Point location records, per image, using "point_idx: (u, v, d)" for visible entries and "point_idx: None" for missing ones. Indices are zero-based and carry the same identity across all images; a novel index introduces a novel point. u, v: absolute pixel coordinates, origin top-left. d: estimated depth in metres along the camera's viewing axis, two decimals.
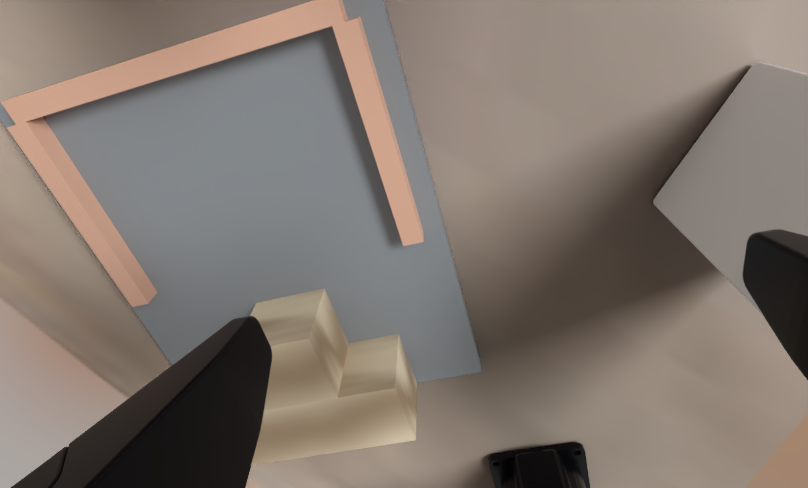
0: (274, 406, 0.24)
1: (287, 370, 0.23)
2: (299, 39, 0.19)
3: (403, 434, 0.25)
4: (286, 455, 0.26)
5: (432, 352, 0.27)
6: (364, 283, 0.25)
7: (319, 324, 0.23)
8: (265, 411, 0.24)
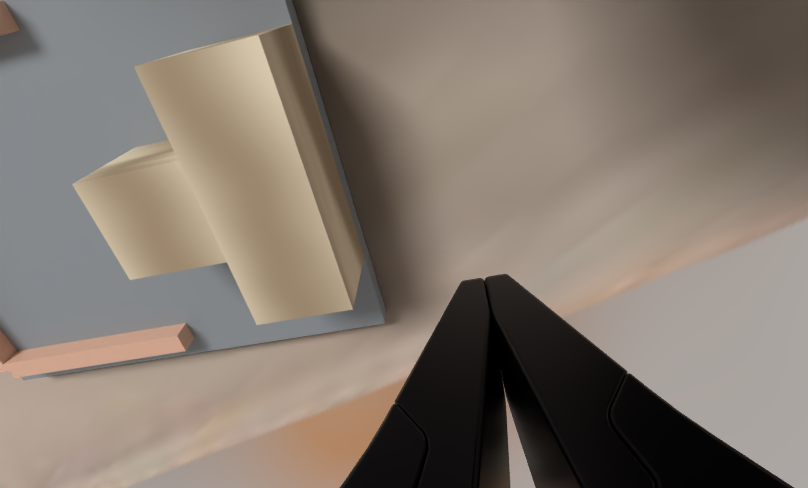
0: (216, 249, 0.17)
1: (140, 219, 0.17)
2: None
3: (246, 58, 0.14)
4: (322, 252, 0.17)
5: None
6: (112, 93, 0.18)
7: (112, 164, 0.17)
8: (227, 262, 0.17)
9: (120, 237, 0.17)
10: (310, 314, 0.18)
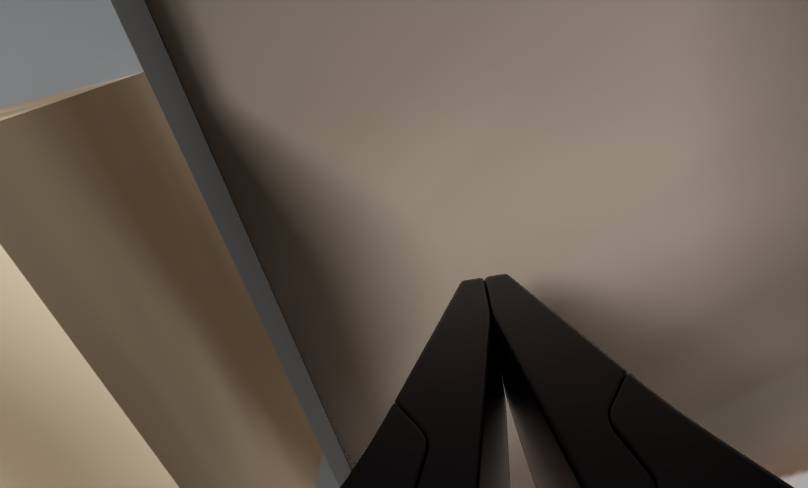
0: None
1: None
2: None
3: None
4: None
5: None
6: None
7: None
8: None
9: None
10: None
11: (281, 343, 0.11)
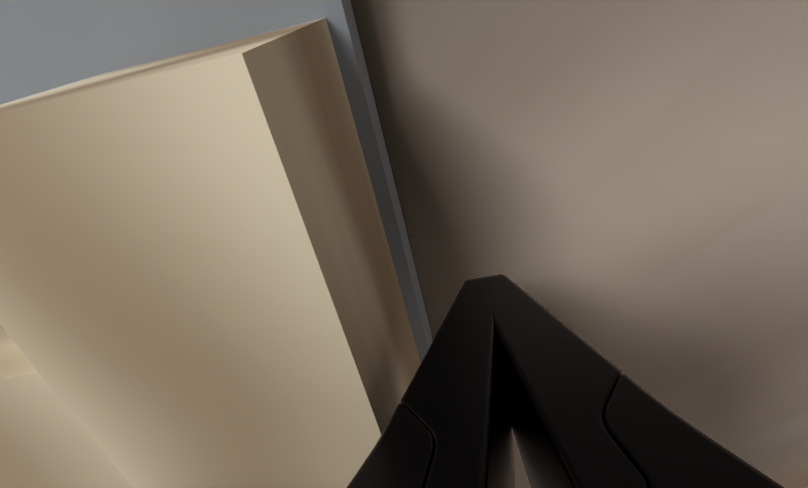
0: None
1: None
2: None
3: (203, 127, 0.04)
4: None
5: None
6: None
7: None
8: None
9: None
10: None
11: (423, 317, 0.11)
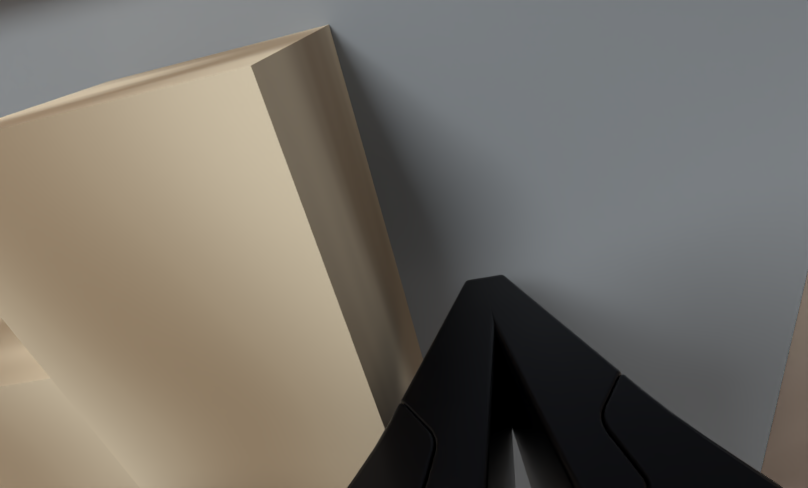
0: None
1: None
2: None
3: (213, 137, 0.04)
4: None
5: None
6: (366, 64, 0.08)
7: None
8: None
9: None
10: None
11: None
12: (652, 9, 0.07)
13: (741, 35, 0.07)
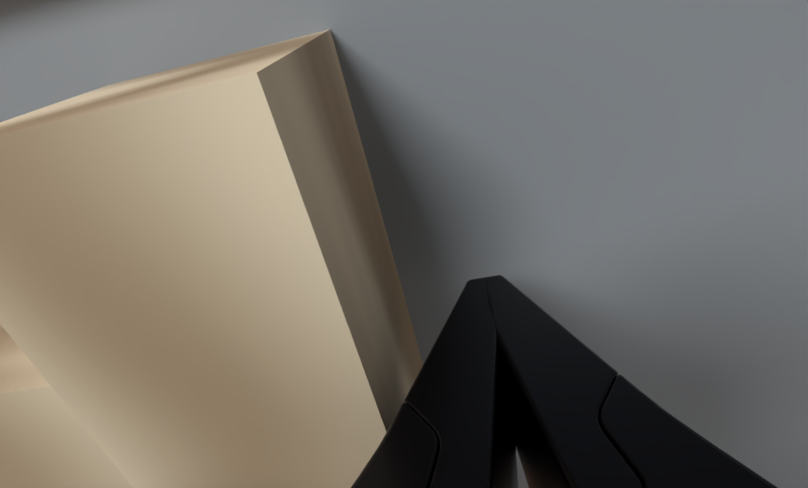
0: None
1: None
2: None
3: (218, 144, 0.04)
4: None
5: None
6: (569, 22, 0.07)
7: None
8: None
9: None
10: None
11: None
12: None
13: None
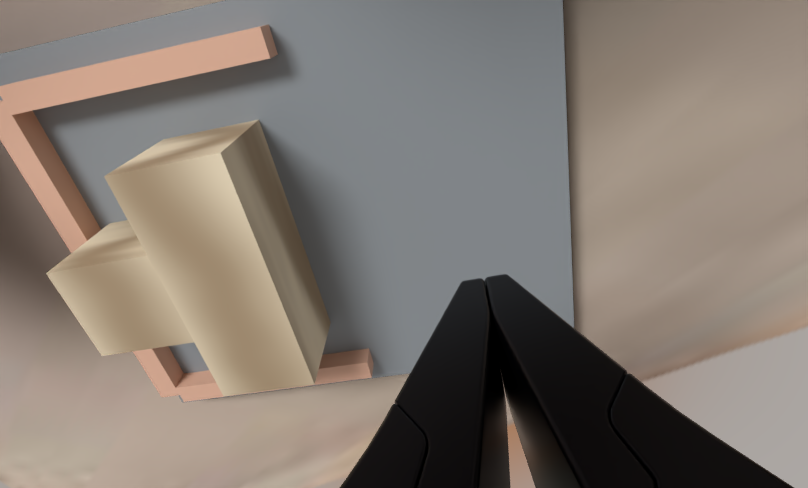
0: (183, 330, 0.18)
1: (111, 304, 0.18)
2: (58, 148, 0.19)
3: (209, 172, 0.15)
4: (284, 335, 0.18)
5: (497, 21, 0.16)
6: (357, 119, 0.18)
7: (86, 248, 0.18)
8: (195, 342, 0.18)
9: (92, 319, 0.18)
10: (274, 388, 0.20)
11: None
12: (477, 100, 0.17)
13: (516, 110, 0.18)
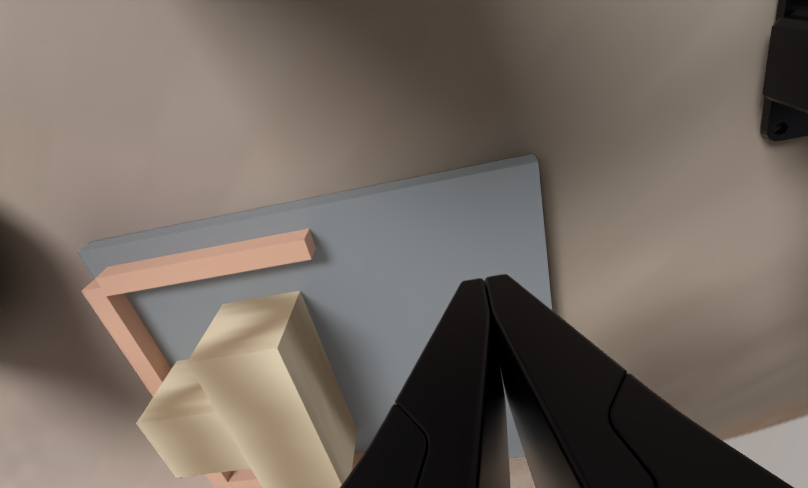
0: (242, 461, 0.23)
1: (186, 443, 0.22)
2: (138, 310, 0.23)
3: (268, 360, 0.19)
4: (323, 464, 0.22)
5: (491, 225, 0.20)
6: (379, 290, 0.22)
7: (163, 394, 0.23)
8: (251, 468, 0.23)
9: (170, 453, 0.22)
10: None
11: None
12: (476, 276, 0.22)
13: None
